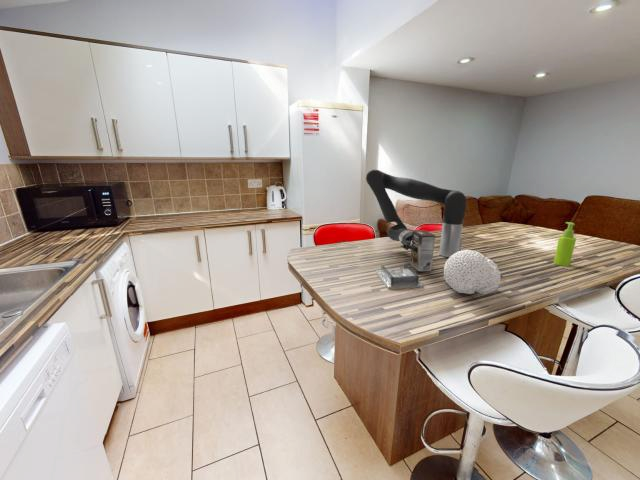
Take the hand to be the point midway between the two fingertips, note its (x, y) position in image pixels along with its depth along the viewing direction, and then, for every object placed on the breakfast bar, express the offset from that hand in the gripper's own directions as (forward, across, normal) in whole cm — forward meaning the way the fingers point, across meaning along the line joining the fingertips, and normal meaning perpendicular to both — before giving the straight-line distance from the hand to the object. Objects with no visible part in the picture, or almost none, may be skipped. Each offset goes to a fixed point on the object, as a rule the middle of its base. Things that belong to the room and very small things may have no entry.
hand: (424, 249), depth 117 cm
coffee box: (-2, 0, +9) cm, 10 cm away
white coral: (+17, +10, +11) cm, 23 cm away
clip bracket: (+6, -13, +11) cm, 18 cm away
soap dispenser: (-4, +71, +12) cm, 72 cm away
